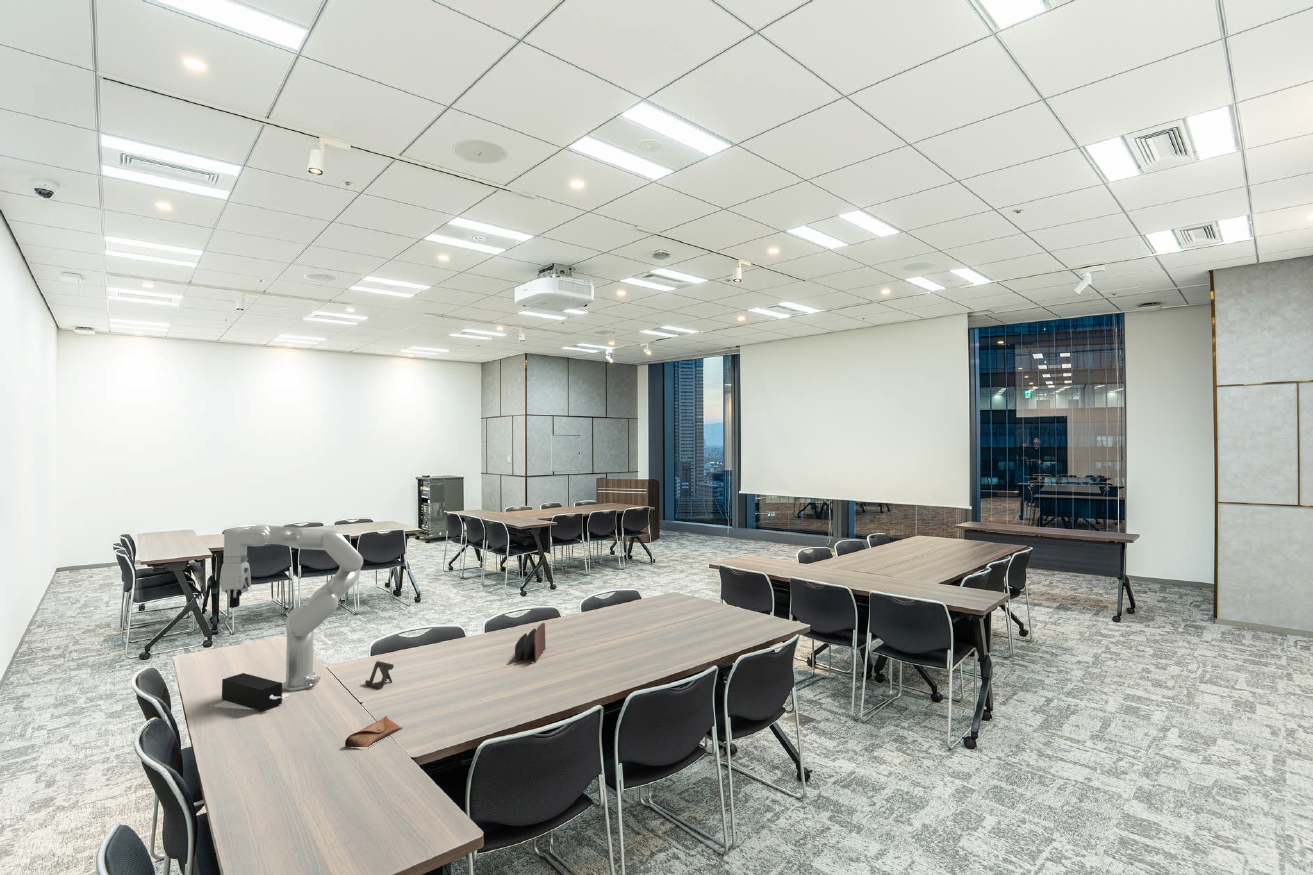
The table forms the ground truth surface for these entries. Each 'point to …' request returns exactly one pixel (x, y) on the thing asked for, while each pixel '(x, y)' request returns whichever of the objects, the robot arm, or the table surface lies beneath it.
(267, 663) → the table surface
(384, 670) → the portable electronic device stand
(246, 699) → the black rectangular box
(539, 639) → the letter holder
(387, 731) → the sunglasses case
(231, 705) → the white mat
